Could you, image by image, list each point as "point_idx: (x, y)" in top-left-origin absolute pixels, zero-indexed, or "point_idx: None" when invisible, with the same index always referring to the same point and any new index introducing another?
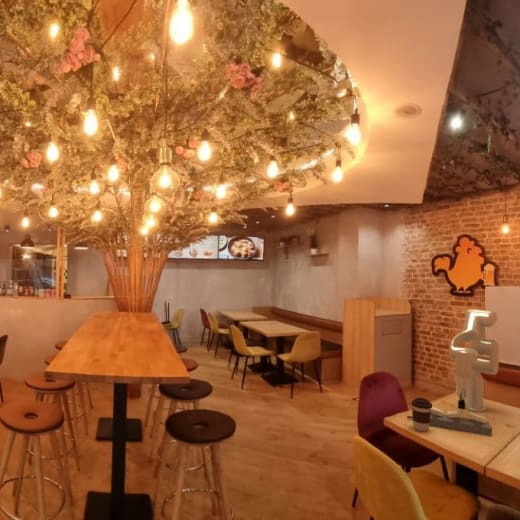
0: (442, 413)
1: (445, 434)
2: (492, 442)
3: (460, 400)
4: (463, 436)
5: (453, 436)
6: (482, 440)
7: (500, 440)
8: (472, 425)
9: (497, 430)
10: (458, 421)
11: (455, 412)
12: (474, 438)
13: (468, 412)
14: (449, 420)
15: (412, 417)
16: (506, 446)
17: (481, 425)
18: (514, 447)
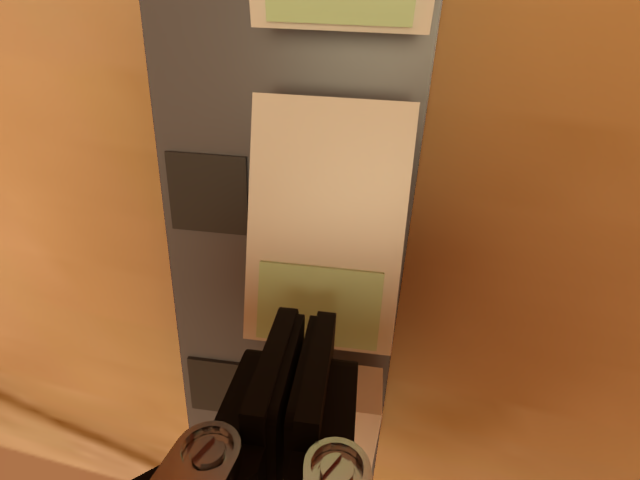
0: (252, 2)
1: (9, 32)
2: (94, 381)
3: (159, 467)
4: (77, 205)
5: (12, 112)
6: (88, 329)
7: (169, 435)
8: (180, 334)
9: (379, 475)
10: (199, 217)
11: (304, 229)
12: (91, 283)
13: (358, 399)
14: (192, 108)
15: None
16: (80, 436)
17: (207, 408)
18: (95, 469)
